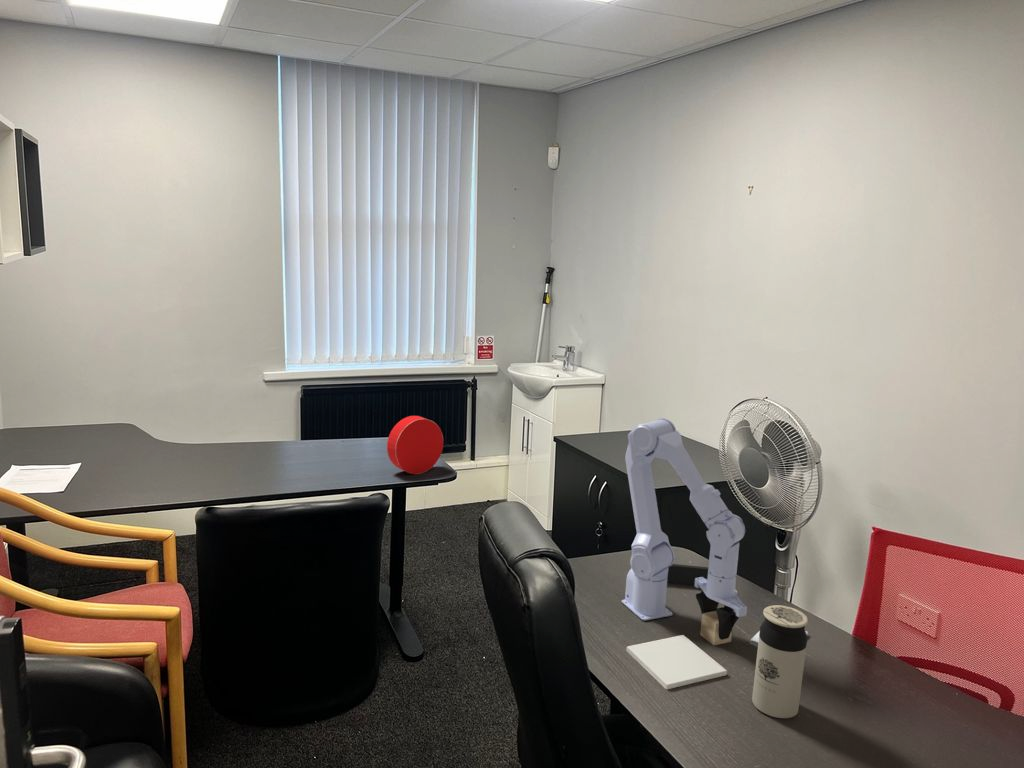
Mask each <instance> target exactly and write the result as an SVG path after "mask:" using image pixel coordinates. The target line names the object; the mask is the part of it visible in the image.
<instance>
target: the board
mask: <svg viewBox="0 0 1024 768" xmlns="http://www.w3.org/2000/svg"><path fill="white" fill-rule="evenodd" d="M625 649H626V650H625V651H626V653H628V654H629V655H630V656H631V658H633V659H634V660H635V661H636V662H637V663H638V664H639V665H641V667H642V668H643V669H644V670H645V671H646V672H648V674H649V675H651V676H652V677H653V678H654V679H655V681H657V682H658V683H659V684H660V685H661V686H662V687H663V688H664V689H665V690H670V689H675V688H677V687H678V688H679V687H682V686H683V687H684V686H687V685H691V684H695V683H700V682H703V681H707V680H708V681H709V680H712V679H715V678H717V679H718V678H719V677H724V676H727V672H728V671H727V669H725V668H724V666H722V665H721V664H720V663H718V662H717V661H716V660H714V659H713V658H712V657H711V656H710V655H708V654H707V653H706V652H705V651H704V650H703V649H701V648H700V647H698V645H696V643H694V642H693V641H691V640H690V639H689V638H688V637H686V636H685V635H684V634H681V635H676V636H672V637H671V636H670V637H666V638H661V639H658V640H657V639H656V640H652V641H648V642H647V641H646V642H643V643H638V644H632V645H628V646H626V648H625Z"/></svg>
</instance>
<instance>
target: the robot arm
mask: <svg viewBox="0 0 1024 768" xmlns="http://www.w3.org/2000/svg"><path fill="white" fill-rule="evenodd" d="M676 429H677V428H676V425H675V424H674V423H673V422H672V421H671V420H670V419H667V418H664V417H663V418H658V419H655V420H653V421H649V422H646V423H640V424H637V425H636V426H635V427H633V428H632V430H631V431H630V432H629V433H628V434H627V439H628V444H627V448H626V452H625V457H624V458H625V465H626V473H627V478H628V486H629V492H630V498H631V504H632V511H633V517H634V523H635V529H636V535H635V537H634V540H633V542H632V544H631V545H630V546H631V556H630V561H629V564H630V569H629V571H628V573H627V575H626V581H625V593H624V594H625V595H624V599H622V600H621V603H622V604H624V606H625V607H626V608H627V609H629V610H630V611H632V613H633V614H635V615H636V616H637V617H638V618H639V619H641V620H642V621H644V622H645V621H650V620H655V619H660V618H661V619H662V618H665V617H671V616H673V615H674V613H673V612H672V611H671V610H670V609H668V608H667V607H666V600H667V599H666V598H667V588H668V583H667V577H668V568H669V567H670V566H671V565H672V564H674V562H675V558H676V557H675V552H674V549H673V548H672V546H671V544H670V541H669V536H668V535H667V534H666V533H665V532H663V530H662V527H661V521H660V514H659V509H658V501H657V495H656V489H655V482H654V475H653V469H652V461H653V460H654V459H655V458H657V459H660V460H664V461H667V462H668V463H669V464H670V465H671V466H672V468H673V469H674V471H675V472H676V473H677V475H678V476H679V477H680V479H681V481H682V482H683V483H684V484H685V485H686V487H687V489H688V490H689V492H690V494H689V501H690V502H691V505H692V506H693V508H694V509H695V511H696V513H697V514H698V515H699V517H700V518H701V520H702V522H703V523H704V525H705V526H706V528H707V529H708V530H706V538H707V541H708V542H709V545H710V547H709V548H710V550H709V558H708V577H707V579H705V578H703V577H699V578H695V586H694V587H695V588H696V589H701V591H700V592H698V593H696V594H695V598H696V601H697V603H698V605H699V609H700V612H701V614H702V613H707V612H712V611H716V612H717V615H718V621H719V638H720V639H721V640H722V639H727V638H729V636H730V633H731V631H732V632H733V628H734V626H735V624H736V623H737V621H738V620H739V618H742V617H746V616H747V613H748V612H747V611H748V607H747V605H745V604H744V603H743V602H742V601H741V600H740V598H739V597H738V596H737V595H738V592H739V591H738V590H737V589H736V580H737V571H738V562H739V551H740V550H739V549H740V542H739V541H741V540H742V539H743V538H744V537H745V533H746V526H745V524H744V522H743V519H742V518H741V517H740V516H739V515H736V514H734V513H732V511H731V510H729V508H728V506H727V505H726V503H725V502H724V501H723V499H722V498H721V494H722V493H721V492H720V490H719V489H716V488H715V487H714V485H712V484H708V483H706V482H705V481H704V480H703V478H702V476H701V474H700V473H699V471H698V469H697V467H696V465H695V463H694V462H693V461H692V458H691V456H690V455H689V453H688V451H687V449H686V448H685V446H684V443H683V438H682V435H681V433H680V431H678V430H676ZM719 604H721V605H724V607H718V606H719Z"/></svg>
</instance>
